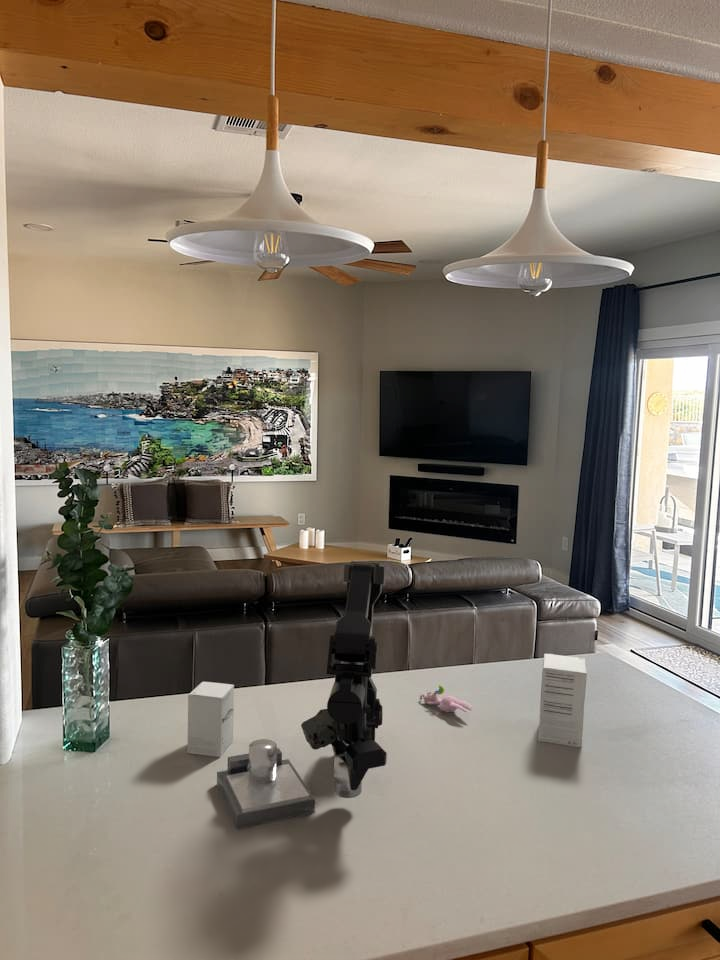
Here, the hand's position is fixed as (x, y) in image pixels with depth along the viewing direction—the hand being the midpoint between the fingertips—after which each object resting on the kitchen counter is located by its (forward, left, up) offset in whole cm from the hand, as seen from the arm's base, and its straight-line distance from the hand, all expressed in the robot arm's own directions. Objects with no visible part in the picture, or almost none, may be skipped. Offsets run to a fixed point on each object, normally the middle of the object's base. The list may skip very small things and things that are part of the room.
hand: (347, 782), depth 128 cm
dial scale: (+13, -8, -5) cm, 16 cm away
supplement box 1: (+18, -30, -5) cm, 35 cm away
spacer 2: (0, 0, -2) cm, 2 cm away
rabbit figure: (-37, -29, -5) cm, 48 cm away
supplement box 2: (-55, -9, -5) cm, 56 cm away
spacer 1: (+13, -10, -2) cm, 16 cm away
